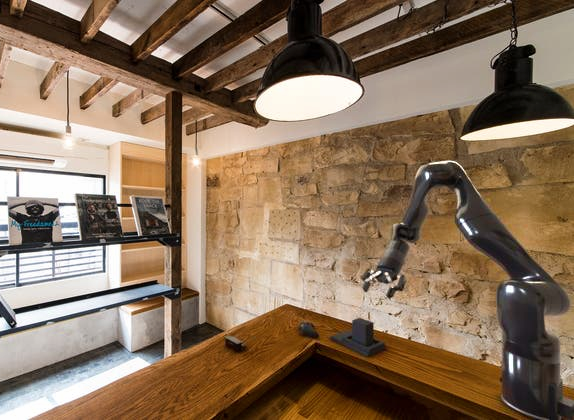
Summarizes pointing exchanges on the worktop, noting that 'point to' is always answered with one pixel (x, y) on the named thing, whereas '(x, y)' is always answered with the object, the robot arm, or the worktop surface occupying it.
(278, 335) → the worktop surface
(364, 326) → the dark grey rectangular block
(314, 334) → the game controller
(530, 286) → the robot arm
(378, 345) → the pad
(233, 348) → the wireless earbuds
